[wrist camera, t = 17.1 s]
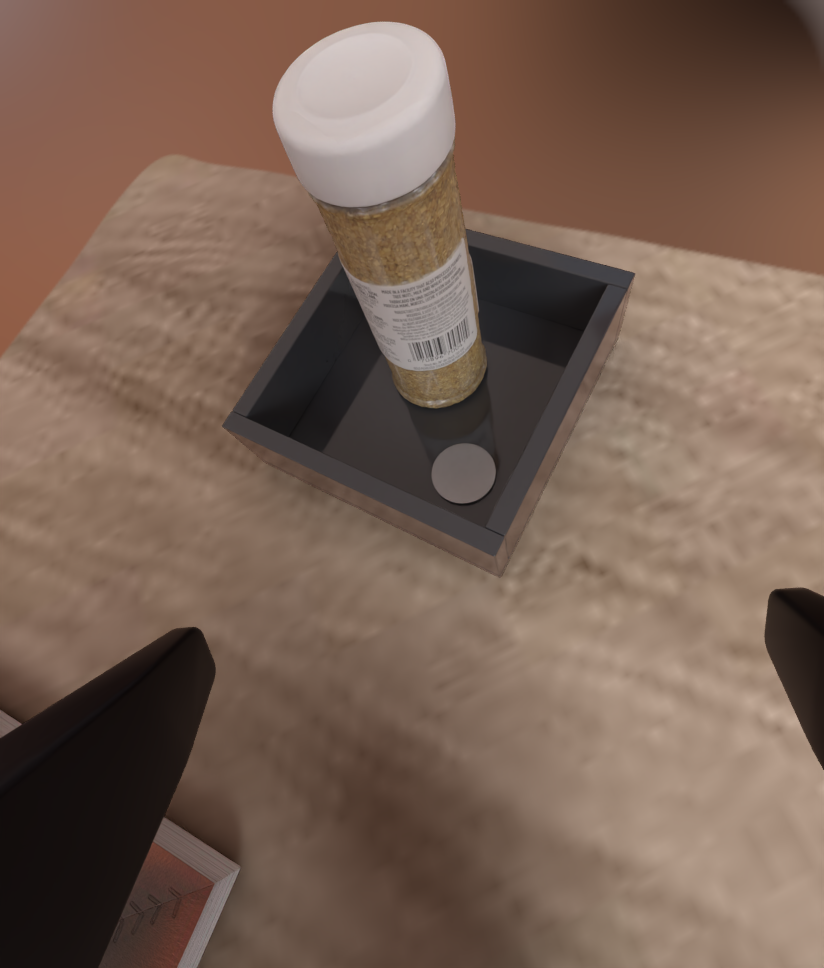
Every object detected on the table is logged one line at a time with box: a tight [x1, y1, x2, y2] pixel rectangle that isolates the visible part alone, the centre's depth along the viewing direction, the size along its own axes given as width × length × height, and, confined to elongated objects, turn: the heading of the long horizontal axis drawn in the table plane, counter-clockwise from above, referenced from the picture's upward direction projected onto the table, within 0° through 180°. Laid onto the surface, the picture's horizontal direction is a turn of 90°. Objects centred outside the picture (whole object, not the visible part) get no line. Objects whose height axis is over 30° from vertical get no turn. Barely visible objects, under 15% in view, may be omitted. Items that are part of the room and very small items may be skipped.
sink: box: [222, 229, 635, 578], centre depth 24 cm, size 13×13×4 cm
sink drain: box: [431, 443, 496, 505], centre depth 23 cm, size 3×3×1 cm
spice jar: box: [273, 22, 487, 409], centre depth 19 cm, size 5×5×14 cm
